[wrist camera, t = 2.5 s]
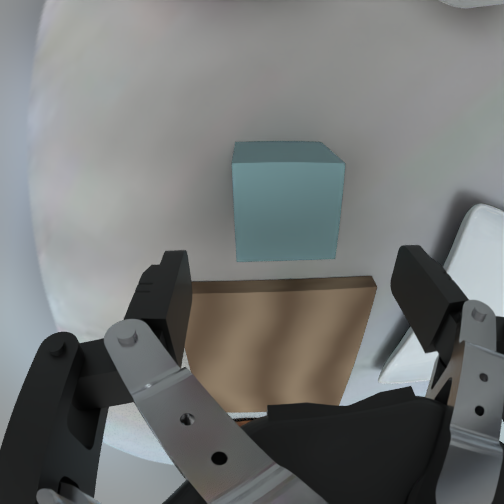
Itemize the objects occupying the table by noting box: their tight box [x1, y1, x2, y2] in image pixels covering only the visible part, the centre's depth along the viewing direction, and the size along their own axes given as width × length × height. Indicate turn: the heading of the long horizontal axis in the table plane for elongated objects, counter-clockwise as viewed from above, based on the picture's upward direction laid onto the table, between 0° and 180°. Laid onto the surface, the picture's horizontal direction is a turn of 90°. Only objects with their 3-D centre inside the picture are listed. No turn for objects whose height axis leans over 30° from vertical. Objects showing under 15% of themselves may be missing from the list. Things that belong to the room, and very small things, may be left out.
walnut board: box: [184, 276, 377, 412], centre depth 28 cm, size 16×18×2 cm
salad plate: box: [378, 204, 504, 384], centre depth 26 cm, size 21×21×3 cm
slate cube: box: [232, 141, 345, 262], centre depth 18 cm, size 6×6×6 cm
